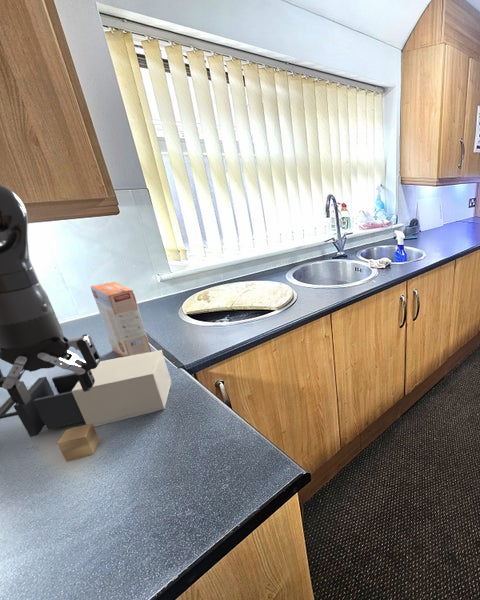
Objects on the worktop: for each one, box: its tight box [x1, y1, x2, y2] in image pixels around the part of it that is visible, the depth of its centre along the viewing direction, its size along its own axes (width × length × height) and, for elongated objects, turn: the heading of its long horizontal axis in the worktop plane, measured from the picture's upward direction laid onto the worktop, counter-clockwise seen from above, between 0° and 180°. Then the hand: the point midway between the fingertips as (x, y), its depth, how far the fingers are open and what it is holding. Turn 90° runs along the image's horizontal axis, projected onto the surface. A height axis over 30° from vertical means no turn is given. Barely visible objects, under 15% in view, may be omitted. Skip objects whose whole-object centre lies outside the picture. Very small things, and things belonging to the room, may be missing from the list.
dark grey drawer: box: [0, 372, 85, 438], centre depth 70 cm, size 17×10×8 cm, turn 117°
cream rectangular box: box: [72, 349, 172, 428], centre depth 75 cm, size 14×12×10 cm
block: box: [56, 423, 101, 463], centre depth 63 cm, size 4×4×4 cm
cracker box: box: [90, 281, 152, 358], centre depth 94 cm, size 14×6×21 cm, turn 56°
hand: (58, 395), depth 59 cm, fingers open, 8 cm apart
